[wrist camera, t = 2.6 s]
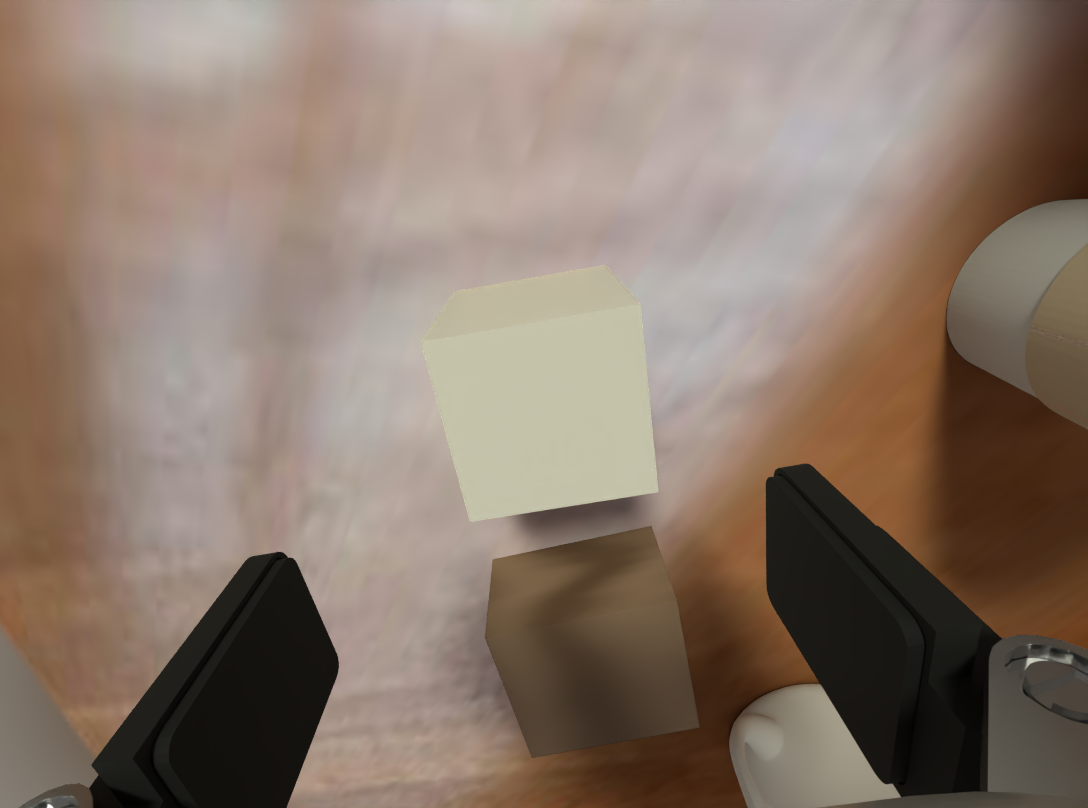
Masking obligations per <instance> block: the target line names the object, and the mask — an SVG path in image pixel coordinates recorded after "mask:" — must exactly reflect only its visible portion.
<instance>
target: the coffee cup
mask: <svg viewBox="0 0 1088 808" xmlns="http://www.w3.org/2000/svg"><path fill="white" fill-rule="evenodd" d="M946 322H947V330H948V334H949V338H950V340H951V343H952V345H953V346H954V348H955V349H956V351H957V352H958V353H959V354H960V355H961V356H962V357H963V358H964V359H965V360H967V361H968V362H970V363H971V364H973V365H975V366H977V367H979V368H981V369H983V370H985V371H987V372H988V373H990V374H992V375H994V376H996V377H998V378H1000V379H1002V380H1004V381H1006V382H1008V383H1009V384H1011V385H1013V386H1015V387H1017V388H1019V389H1021V390H1023V391H1025V392H1027V393H1029V394H1031V395H1032V396H1034V397H1036V398H1038V399H1039V400H1040V401H1041V402H1042V403H1043V404H1044V405H1045V406H1046V407H1048V408H1049V409H1050V410H1052V411H1054V412H1055V413H1057V414H1059V415H1061V416H1063V417H1065V418H1067V419H1069V420H1070V421H1072V422H1074V423H1076V424H1078V425H1080V426H1082V427H1083V428H1085V429H1087V430H1088V199H1076V200H1059V201H1053V202H1048V203H1044V204H1041V205H1038V206H1035V207H1032V208H1030V209H1028V210H1026V211H1023V212H1021V213H1020V214H1018V215H1016V216H1014V217H1012V218H1011V219H1009V220H1008V221H1006V222H1005V223H1003V224H1002V225H1001V226H999V227H998V228H997V229H996V230H994V231H993V232H992V233H991V234H990V235H989V236H987V237H986V238H985V239H984V240H983V241H982V242H981V244H980V245H979V246H978V247H977V248H976V249H975V250H974V252H973V253H972V254H971V255H970V257H969V258H968V259H967V261H966V262H965V264H964V265H963V267H962V269H961V270H960V272H959V274H958V276H957V278H956V280H955V282H954V285H953V287H952V290H951V293H950V296H949V300H948V306H947V314H946Z"/></svg>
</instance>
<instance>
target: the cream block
mask: <svg viewBox="0 0 1088 808" xmlns="http://www.w3.org/2000/svg"><path fill="white" fill-rule="evenodd" d="M420 343H421V346H422V350H423V354H424V357H425V361H426V364H427V368H428V372H429V375H430V379H431V382H432V386H433V390H434V393H435V397H436V401H437V404H438V408H439V411H440V415H441V419H442V422H443V426H444V429H445V433H446V437H447V440H448V444H449V447H450V451H451V455H452V458H453V462H454V466H455V469H456V473H457V476H458V480H459V484H460V487H461V491H462V494H463V498H464V502H465V505H466V509H467V513H468V516H469V520H470V522H473V521H479V520H485V519H492V518H498V517H505V516H511V515H517V514H524V513H530V512H536V511H543V510H549V509H555V508H562V507H568V506H574V505H581V504H587V503H594V502H600V501H606V500H613V499H619V498H625V497H632V496H638V495H644V494H651V493H657V492H658V482H657V472H656V461H655V451H654V440H653V430H652V419H651V409H650V398H649V388H648V377H647V367H646V356H645V345H644V335H643V324H642V314H641V304H640V303H639V302H638V300H637V299H636V298H635V297H634V296H633V295H632V294H631V293H630V292H629V290H628V289H627V288H626V287H625V286H624V285H623V284H622V283H621V282H620V280H619V279H618V278H617V277H616V276H615V275H614V274H613V273H612V272H611V271H610V269H609V268H608V267H607V266H606V265H601V266H595V267H589V268H584V269H578V270H572V271H567V272H561V273H556V274H550V275H544V276H539V277H533V278H527V279H522V280H516V281H510V282H505V283H499V284H494V285H488V286H482V287H477V288H471V289H465V290H460V291H455V292H454V293H453V295H452V296H451V298H450V299H449V300H448V302H447V303H446V305H445V306H444V308H443V309H442V311H441V312H440V314H439V315H438V317H437V318H436V320H435V321H434V323H433V324H432V326H431V327H430V328H429V330H428V331H427V333H426V334H425V336H424V337H423V339H422V340H421V342H420Z"/></svg>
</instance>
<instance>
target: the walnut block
mask: <svg viewBox="0 0 1088 808" xmlns="http://www.w3.org/2000/svg"><path fill="white" fill-rule="evenodd" d="M485 639H486V642H487V644H488V647H489V649H490V652H491V654H492V657H493V659H494V662H495V664H496V667H497V670H498V672H499V675H500V677H501V680H502V682H503V685H504V687H505V690H506V692H507V695H508V698H509V700H510V703H511V705H512V708H513V710H514V713H515V715H516V718H517V720H518V723H519V726H520V728H521V731H522V733H523V736H524V738H525V741H526V743H527V746H528V748H529V751H530V754H531V756H532V758H534V757H540V756H545V755H551V754H556V753H562V752H567V751H573V750H579V749H584V748H590V747H595V746H601V745H606V744H612V743H617V742H623V741H629V740H634V739H640V738H645V737H651V736H656V735H662V734H667V733H673V732H679V731H684V730H690V729H695V728H700V726H699V720H698V714H697V709H696V703H695V698H694V692H693V687H692V681H691V675H690V670H689V664H688V659H687V653H686V648H685V642H684V636H683V631H682V625H681V620H680V614H679V609H678V603H677V599H676V596H675V593H674V590H673V587H672V584H671V581H670V579H669V576H668V573H667V570H666V567H665V564H664V561H663V558H662V556H661V553H660V550H659V547H658V544H657V541H656V538H655V536H654V533H653V530H652V527H651V526H650V527H645V528H640V529H636V530H631V531H626V532H621V533H617V534H612V535H607V536H602V537H598V538H593V539H588V540H583V541H579V542H574V543H569V544H564V545H560V546H555V547H550V548H545V549H541V550H536V551H531V552H526V553H522V554H517V555H512V556H507V557H503V558H498V559H493V563H492V573H491V583H490V593H489V603H488V613H487V623H486V633H485Z"/></svg>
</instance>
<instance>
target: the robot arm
mask: <svg viewBox="0 0 1088 808" xmlns="http://www.w3.org/2000/svg"><path fill="white" fill-rule="evenodd" d="M766 575H767V592H768V596H769V599H770V601H771V604H772V605H773V607H774V609H775V611H776V612H777V614H778V616H779V617H780V619H781V620H782V622H783V624H784V625H785V627H786V629H787V630H788V632H789V634H790V635H791V637H792V638H793V640H794V642H795V643H796V645H797V647H798V648H799V650H800V652H801V653H802V655H803V656H804V658H805V660H806V661H807V663H808V665H809V666H810V668H811V670H812V671H813V673H814V674H815V676H816V678H817V679H818V681H819V683H820V684H821V686H822V688H823V689H824V691H825V693H826V694H827V696H828V697H829V699H830V701H831V702H832V704H833V706H834V707H835V709H836V711H837V712H838V714H839V715H840V717H841V719H842V720H843V722H844V724H845V725H846V727H847V729H848V730H849V732H850V733H851V735H852V737H853V738H854V740H855V742H856V743H857V745H858V747H859V748H860V750H861V751H862V753H863V755H864V756H865V758H866V760H867V761H868V763H869V765H870V766H871V768H872V769H873V771H874V773H875V774H876V776H877V777H878V778H879V779H880V780H881V782H882V783H884V784H893V785H894V787H895V788H896V790H897V791H898V793H899V795H900V796H901V797H899V798H891V799H883V800H875V801H867V802H859V803H851V804H843V805H834V806H826V807H818V808H1088V650H1087V649H1084V648H1082V647H1079V646H1076V645H1073V644H1070V643H1068V642H1065V641H1062V640H1058V639H1053V638H1048V637H1043V636H1038V635H1016V636H1012V637H1008V638H1004V639H1002V638H1001V637H999V636H998V635H997V634H996V633H995V632H994V631H993V630H992V629H991V628H990V627H989V626H988V625H986V624H985V623H984V622H983V621H982V620H981V619H980V618H979V617H978V616H977V615H976V614H975V613H973V612H972V611H971V610H970V609H969V608H968V607H967V606H966V605H965V604H964V603H963V602H962V601H961V600H959V599H958V598H957V597H956V596H955V595H954V594H953V593H952V592H951V591H950V590H949V589H948V588H946V587H945V586H944V585H943V584H942V583H941V582H940V581H939V580H938V579H937V578H936V577H935V576H933V575H932V574H931V573H930V572H929V571H928V570H927V569H926V568H925V567H924V566H923V565H922V564H920V563H919V562H918V561H917V560H916V559H915V558H914V557H913V556H912V555H911V554H910V553H909V552H907V551H906V550H905V549H904V548H903V547H902V546H901V545H900V544H899V543H898V542H897V541H896V540H894V539H893V538H892V537H891V536H890V535H889V534H888V533H887V532H886V531H884V530H883V529H882V528H880V527H879V526H876V525H875V524H874V523H872V522H871V521H870V520H869V519H868V518H867V517H866V516H865V515H864V514H863V513H862V512H861V511H860V510H859V509H857V508H856V507H855V506H854V505H853V504H852V503H851V502H850V501H849V500H848V499H847V498H846V497H845V496H844V495H842V494H841V493H840V492H839V491H838V490H837V489H836V488H835V487H834V486H833V485H832V484H831V483H830V482H829V481H827V480H826V479H825V478H824V477H823V476H822V475H821V474H820V473H819V472H818V471H817V470H816V469H815V468H814V467H812V466H811V465H810V464H800V465H794V466H788V467H782V468H778V469H776V470H775V473H774V477H769V478H768V479H767V481H766ZM338 669H339V661H338V656H337V653H336V651H335V649H334V646H333V644H332V642H331V640H330V637H329V635H328V633H327V631H326V628H325V626H324V624H323V621H322V619H321V617H320V615H319V612H318V610H317V608H316V605H315V603H314V601H313V599H312V596H311V594H310V592H309V590H308V587H307V585H306V583H305V580H304V578H303V576H302V574H301V571H300V569H299V567H298V565H297V563H296V561H295V560H294V559H293V558H288V557H287V556H286V555H285V554H284V553H282V552H276V553H270V554H264V555H258V556H252V557H250V558H248V559H247V560H246V561H245V562H244V564H243V565H242V566H241V568H240V569H239V570H238V572H237V573H236V574H235V576H234V577H233V578H232V579H231V581H230V582H229V583H228V585H227V586H226V587H225V589H224V590H223V591H222V593H221V594H220V595H219V597H218V598H217V599H216V601H215V602H214V603H213V605H212V606H211V607H210V609H209V610H208V611H207V613H206V614H205V615H204V616H203V618H202V619H201V620H200V622H199V623H198V624H197V626H196V627H195V628H194V630H193V631H192V632H191V634H190V635H189V636H188V638H187V639H186V640H185V642H184V643H183V644H182V646H181V647H180V648H179V650H178V651H177V652H176V653H175V655H174V656H173V657H172V659H171V660H170V661H169V663H168V664H167V665H166V667H165V668H164V669H163V671H162V672H161V673H160V675H159V676H158V677H157V679H156V680H155V681H154V683H153V684H152V685H151V687H150V688H149V689H148V691H147V692H146V693H145V694H144V696H143V697H142V698H141V700H140V701H139V702H138V704H137V705H136V706H135V708H134V709H133V710H132V712H131V713H130V714H129V716H128V717H127V718H126V720H125V721H124V722H123V724H122V725H121V726H120V728H119V729H118V730H117V731H116V733H115V734H114V735H113V737H112V738H111V739H110V741H109V742H108V743H107V745H106V746H105V747H104V749H103V750H102V751H101V753H100V754H99V755H98V757H97V758H96V759H95V761H94V762H93V763H92V767H93V768H94V769H95V770H96V772H97V773H98V774H99V775H98V777H97V778H96V779H95V781H94V782H93V784H92V785H91V786H90V788H88V787H86V786H84V785H82V784H80V783H79V784H66V785H63V786H60V787H57V788H54V789H51V790H48V791H46V792H44V793H43V794H41V795H39V796H37V797H35V798H33V799H31V800H30V801H28V802H26V803H25V804H23V805H22V806H21V807H19V808H286V807H287V805H288V802H289V800H290V797H291V794H292V792H293V789H294V787H295V784H296V781H297V779H298V776H299V774H300V771H301V768H302V766H303V763H304V761H305V758H306V755H307V753H308V750H309V748H310V745H311V742H312V740H313V737H314V735H315V732H316V729H317V727H318V724H319V722H320V719H321V716H322V714H323V711H324V709H325V706H326V703H327V701H328V698H329V696H330V693H331V690H332V688H333V685H334V683H335V680H336V677H337V674H338Z"/></svg>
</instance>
